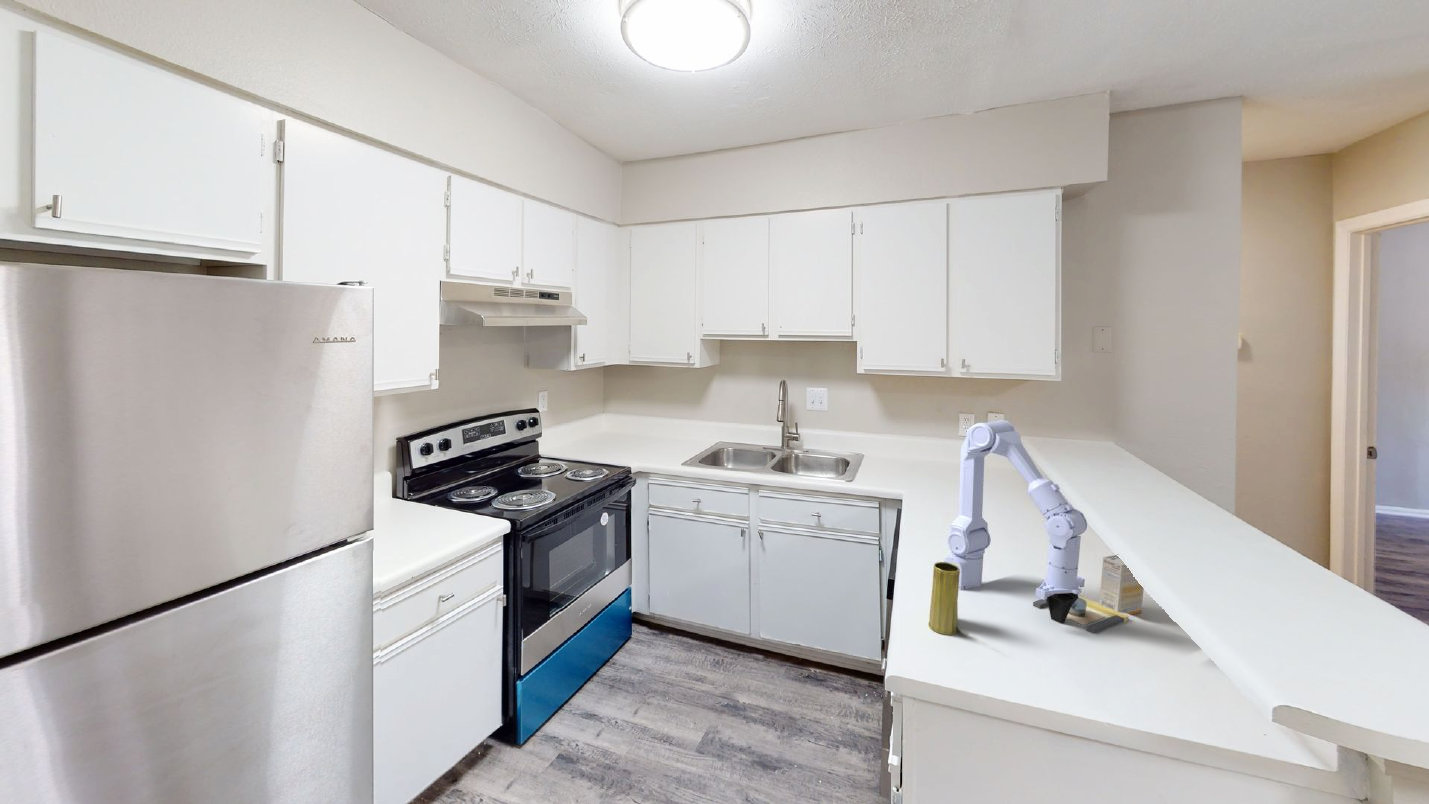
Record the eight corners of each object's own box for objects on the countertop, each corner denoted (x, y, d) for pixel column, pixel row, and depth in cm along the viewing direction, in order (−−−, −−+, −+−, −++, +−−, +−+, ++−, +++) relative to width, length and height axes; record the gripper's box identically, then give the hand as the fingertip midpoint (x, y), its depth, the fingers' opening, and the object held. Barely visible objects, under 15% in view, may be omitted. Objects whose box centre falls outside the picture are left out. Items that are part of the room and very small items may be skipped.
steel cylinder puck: (1079, 618, 126) (1080, 605, 126) (1062, 611, 130) (1063, 598, 129) (1089, 614, 128) (1090, 602, 128) (1072, 607, 131) (1073, 595, 131)
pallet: (1082, 633, 124) (1083, 624, 123) (1047, 617, 131) (1047, 608, 131) (1103, 625, 127) (1104, 616, 127) (1068, 609, 134) (1068, 601, 134)
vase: (952, 638, 121) (956, 575, 119) (923, 628, 125) (927, 566, 123) (961, 627, 125) (965, 566, 123) (934, 618, 129) (937, 558, 127)
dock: (1093, 640, 120) (1094, 629, 120) (1032, 611, 133) (1033, 601, 132) (1127, 626, 126) (1128, 616, 126) (1065, 600, 138) (1066, 590, 138)
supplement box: (1121, 603, 137) (1127, 552, 135) (1142, 613, 132) (1147, 559, 131) (1096, 608, 134) (1102, 556, 132) (1117, 618, 130) (1122, 564, 128)
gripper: (1060, 577, 117) (1055, 639, 119) (1101, 565, 124) (1095, 623, 125) (1028, 565, 123) (1023, 623, 125) (1068, 553, 130) (1063, 609, 132)
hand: (1057, 622), depth 126 cm, fingers closed
